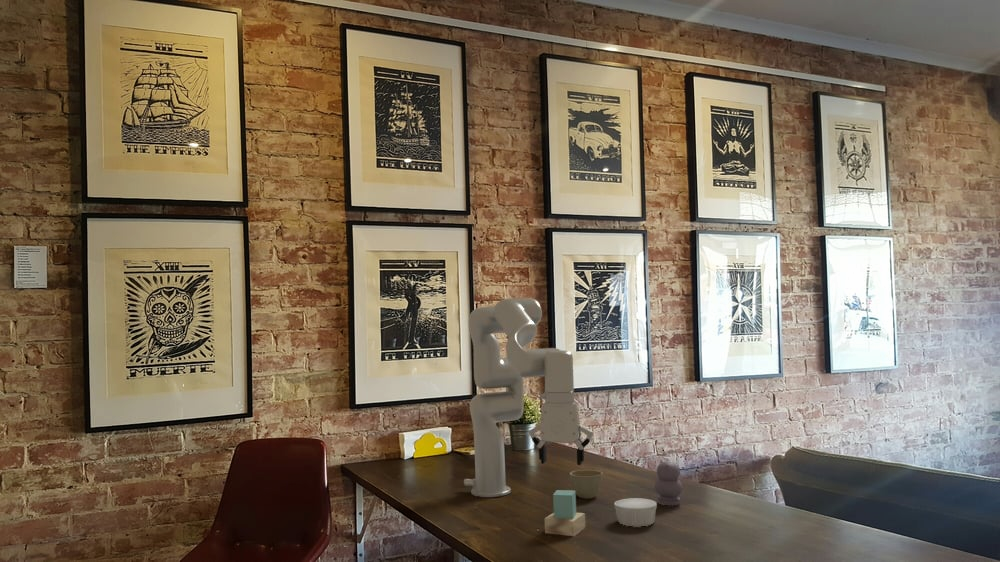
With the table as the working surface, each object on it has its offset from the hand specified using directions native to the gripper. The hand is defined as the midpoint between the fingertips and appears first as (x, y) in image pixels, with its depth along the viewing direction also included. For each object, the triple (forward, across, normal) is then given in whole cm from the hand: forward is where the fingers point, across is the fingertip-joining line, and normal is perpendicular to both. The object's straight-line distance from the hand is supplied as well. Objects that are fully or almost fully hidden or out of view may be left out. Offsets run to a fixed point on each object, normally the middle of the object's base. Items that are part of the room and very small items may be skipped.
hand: (561, 463), depth 194 cm
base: (+18, +1, -1) cm, 18 cm away
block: (+14, +1, -1) cm, 14 cm away
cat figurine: (+18, +25, +30) cm, 43 cm away
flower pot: (+18, 0, +34) cm, 39 cm away
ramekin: (+17, +18, +9) cm, 27 cm away
